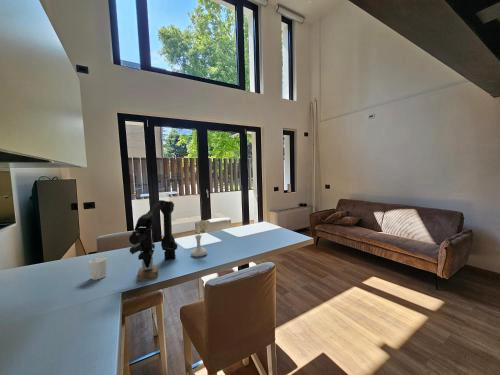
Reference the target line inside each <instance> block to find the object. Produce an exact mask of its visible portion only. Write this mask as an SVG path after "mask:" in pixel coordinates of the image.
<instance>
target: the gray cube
mask: <svg viewBox="0 0 500 375" xmlns="http://www.w3.org/2000/svg"><path fill="white" fill-rule="evenodd" d="M153 265H154V257H153V256H152V258H151V261H150V264H149V267H148V268H146V266H145V263H144V260H143V259H142V260H141V267H142V270H147V269H152V268H153Z"/></svg>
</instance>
